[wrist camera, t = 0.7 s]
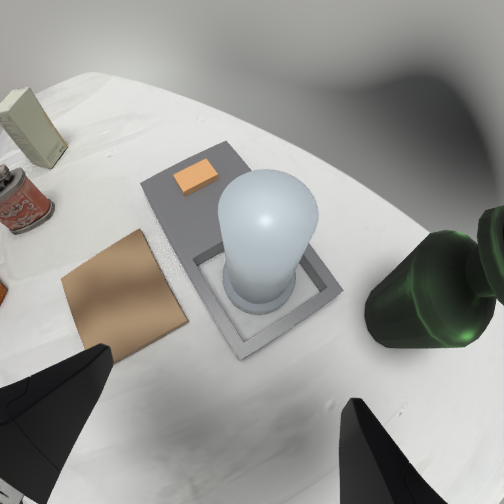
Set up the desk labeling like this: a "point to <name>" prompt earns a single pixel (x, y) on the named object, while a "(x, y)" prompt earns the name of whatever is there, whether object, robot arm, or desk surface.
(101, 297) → the coaster
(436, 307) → the potion bottle
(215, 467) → the desk surface
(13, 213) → the lighter
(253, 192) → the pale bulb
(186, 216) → the gray switch base
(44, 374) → the robot arm
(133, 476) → the desk surface
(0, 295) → the kendama
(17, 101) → the skincare box
